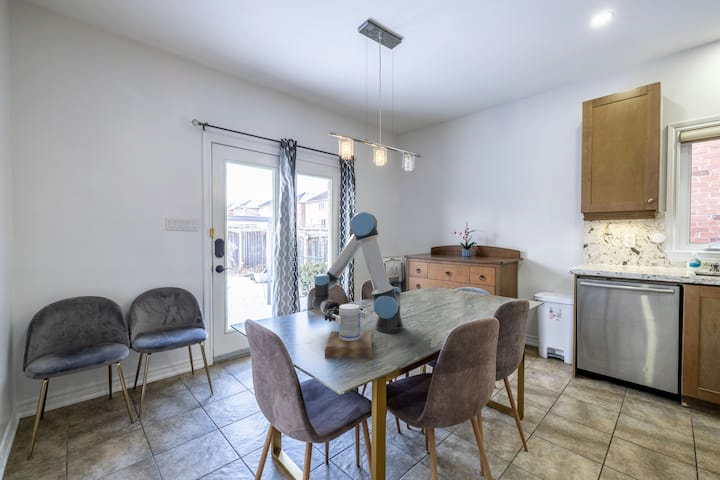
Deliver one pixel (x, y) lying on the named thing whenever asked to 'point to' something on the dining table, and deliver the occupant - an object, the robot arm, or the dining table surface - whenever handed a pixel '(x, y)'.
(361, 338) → the wooden square block
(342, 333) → the supplement tub
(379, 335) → the dining table surface
